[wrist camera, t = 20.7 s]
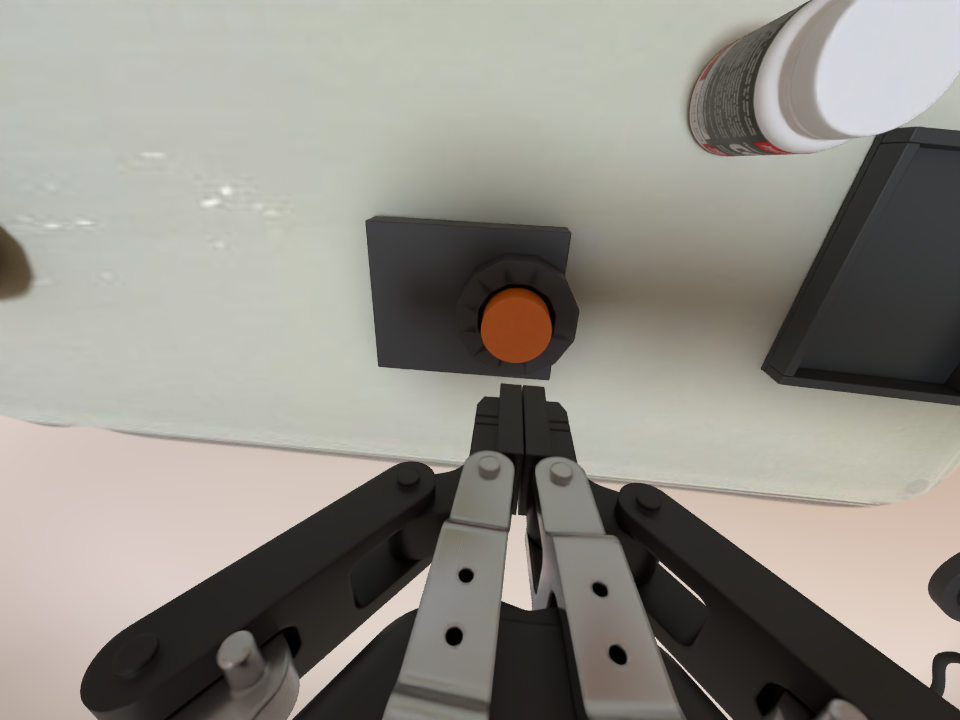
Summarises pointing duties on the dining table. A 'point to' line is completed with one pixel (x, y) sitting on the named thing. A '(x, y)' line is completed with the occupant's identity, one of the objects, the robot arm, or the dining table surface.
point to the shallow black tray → (885, 280)
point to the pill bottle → (827, 76)
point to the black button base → (462, 291)
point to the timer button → (516, 325)
